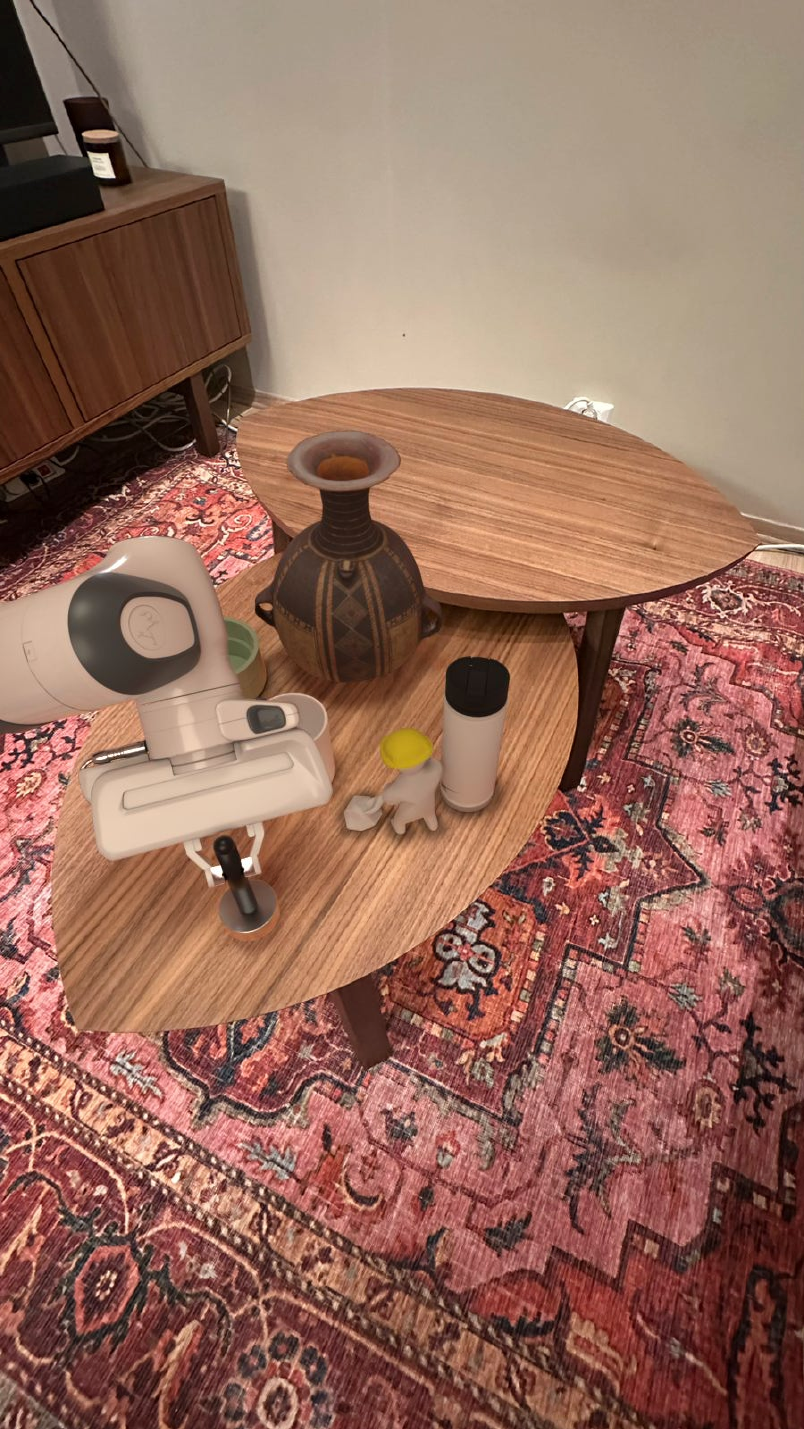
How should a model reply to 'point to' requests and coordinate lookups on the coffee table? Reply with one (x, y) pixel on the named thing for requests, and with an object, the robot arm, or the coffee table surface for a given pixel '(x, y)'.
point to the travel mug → (472, 731)
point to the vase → (347, 569)
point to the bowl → (246, 657)
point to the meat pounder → (244, 897)
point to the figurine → (401, 784)
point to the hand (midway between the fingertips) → (236, 878)
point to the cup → (313, 725)
